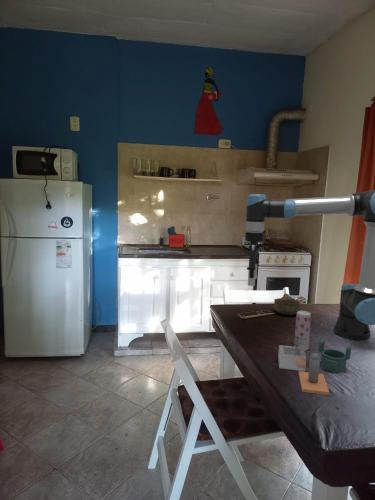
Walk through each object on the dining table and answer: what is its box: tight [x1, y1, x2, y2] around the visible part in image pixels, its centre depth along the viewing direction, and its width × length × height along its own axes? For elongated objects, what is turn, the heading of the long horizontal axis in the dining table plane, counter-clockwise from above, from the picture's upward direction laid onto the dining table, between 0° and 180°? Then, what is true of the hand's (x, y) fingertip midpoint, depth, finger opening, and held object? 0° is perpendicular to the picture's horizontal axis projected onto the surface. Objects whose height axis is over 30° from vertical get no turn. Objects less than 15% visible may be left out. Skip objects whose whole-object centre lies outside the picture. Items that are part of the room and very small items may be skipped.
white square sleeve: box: [277, 344, 307, 372], centre depth 129 cm, size 9×9×5 cm
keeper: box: [298, 352, 330, 396], centre depth 115 cm, size 8×12×10 cm, turn 167°
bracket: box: [317, 339, 352, 373], centre depth 127 cm, size 9×9×9 cm
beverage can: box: [293, 310, 312, 352], centre depth 143 cm, size 6×6×15 cm
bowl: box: [273, 293, 301, 316], centre depth 190 cm, size 18×14×10 cm
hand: (252, 281), depth 149 cm, fingers open, 13 cm apart
